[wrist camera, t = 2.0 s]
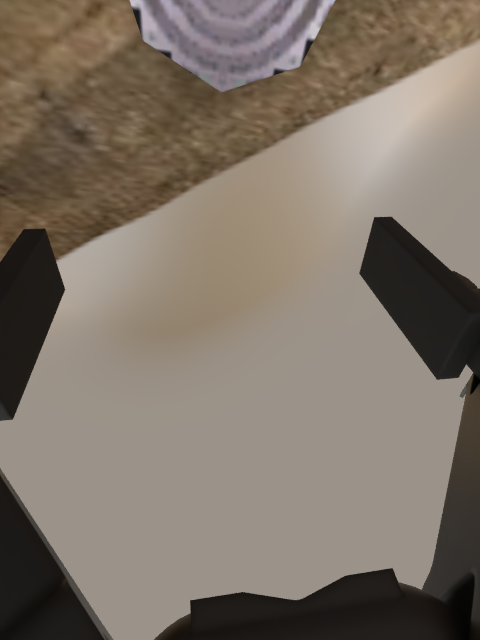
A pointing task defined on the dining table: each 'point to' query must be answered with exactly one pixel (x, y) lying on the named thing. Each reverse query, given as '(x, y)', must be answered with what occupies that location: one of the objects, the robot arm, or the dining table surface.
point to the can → (232, 35)
